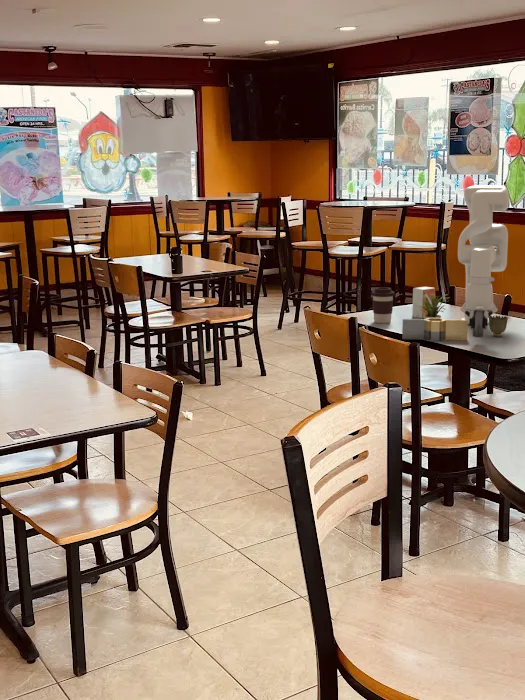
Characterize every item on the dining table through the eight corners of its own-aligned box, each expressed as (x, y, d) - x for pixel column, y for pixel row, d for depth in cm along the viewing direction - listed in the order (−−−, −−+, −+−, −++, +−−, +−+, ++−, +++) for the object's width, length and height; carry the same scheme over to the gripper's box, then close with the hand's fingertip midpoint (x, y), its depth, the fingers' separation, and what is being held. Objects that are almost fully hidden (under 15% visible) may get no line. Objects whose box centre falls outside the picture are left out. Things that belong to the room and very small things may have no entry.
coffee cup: (369, 323, 377) (369, 289, 373) (373, 319, 386) (373, 286, 383) (392, 324, 374) (392, 290, 371) (395, 320, 383) (396, 286, 380)
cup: (507, 338, 343) (508, 318, 341) (488, 338, 344) (489, 318, 342) (506, 334, 350) (507, 315, 348) (487, 334, 351) (488, 315, 350)
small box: (422, 318, 387) (423, 289, 384) (411, 316, 392) (412, 288, 389) (434, 316, 392) (435, 287, 389) (424, 314, 397) (425, 286, 394)
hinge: (402, 336, 349) (402, 317, 347) (466, 338, 345) (467, 318, 343) (402, 341, 341) (402, 321, 339) (467, 342, 337) (468, 322, 336)
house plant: (457, 329, 362) (459, 290, 358) (445, 335, 351) (446, 295, 347) (425, 326, 370) (426, 288, 366) (412, 331, 358) (413, 292, 355)
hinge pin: (470, 334, 337) (471, 303, 334) (484, 334, 336) (485, 304, 333) (471, 337, 332) (472, 306, 329) (485, 337, 331) (486, 306, 328)
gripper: (501, 279, 331) (499, 326, 335) (456, 279, 334) (455, 325, 338) (504, 282, 324) (501, 330, 328) (458, 282, 326) (456, 329, 331)
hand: (478, 327), depth 333 cm, fingers closed on hinge pin, 4 cm apart
